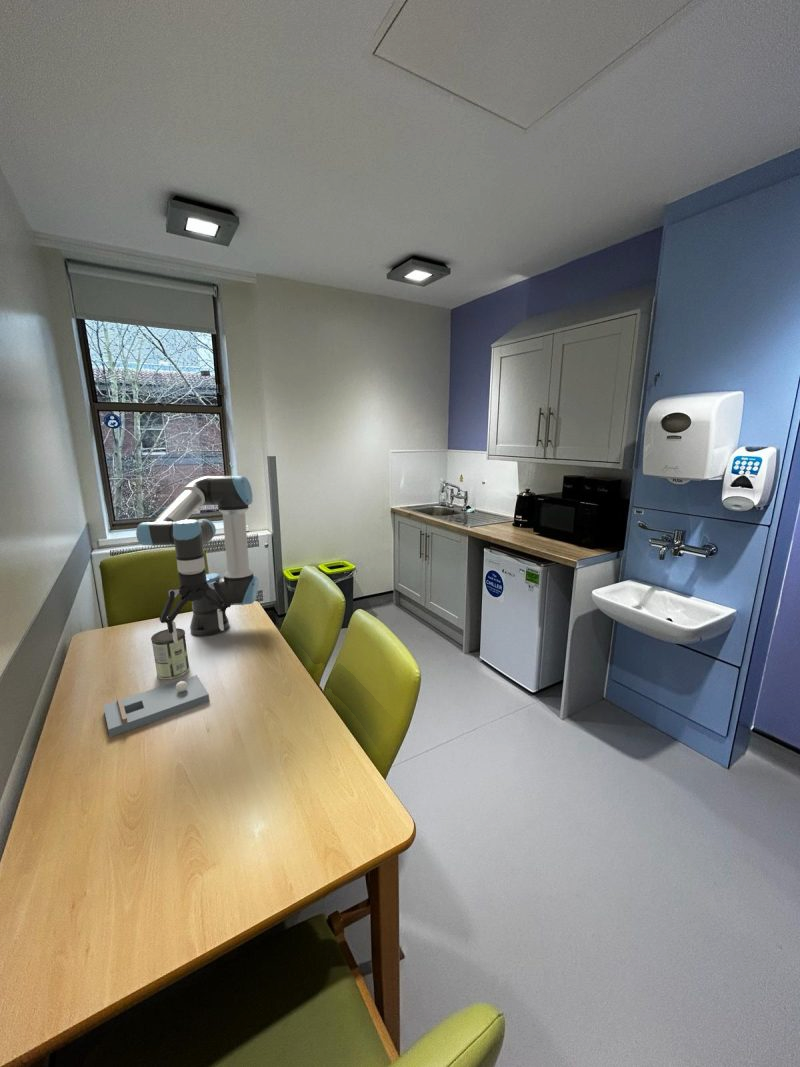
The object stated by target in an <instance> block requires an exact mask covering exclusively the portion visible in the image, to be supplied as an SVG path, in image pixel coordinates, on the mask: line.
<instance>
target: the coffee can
mask: <svg viewBox="0 0 800 1067" xmlns="http://www.w3.org/2000/svg"><path fill="white" fill-rule="evenodd" d="M176 632H177V640H178V643H175V642H174V641H173V635H172V633H169V631H168V628H167V629H163V630H160V631H158V632H156V633H154V634H152V636H151V638H150V640H151V645H152V650H153V651H152V652H153V656H154V663H155V668H156V669H155V670H156V677H157V678H158V679H160V680H172V679H173V680H174V679H176V678H180V677H182V676H184V675H186V674H187V673H188V672H189V670H190V664H189V663H190V662H189V657H188V650H187V649H188V648H187V643H186V642H187V640H186V631H185V630H184V629H183V628H180V627H179V628H178V627H176Z"/></svg>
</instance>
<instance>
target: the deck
mask: <svg viewBox="0 0 800 1067" xmlns="http://www.w3.org/2000/svg"><path fill="white" fill-rule="evenodd" d="M180 681H185V682H186V683H187V688H186V690H185V691H183V692H179V691H177V690H176V685H177V683H178V682H180ZM209 702H210V696H209V692H208V691H207V689H206V688H205V686H204V685H203V683H202V681H201V680H200V677H198V675H197V674H196V675H193V676H188V677H186V678H183V679H180V680H176V681H174V682H170V683H167V684H164V685H161V686H158V687H155V688H152V689H148V690H145V691H142V692H139V693H136V694H134V695H129V696H126V697H122V696H121V694H119V695H116V700H114V701H111V702H109V703H105V704H103V705H102V706H103V711H104V716H105V721H106V726H107V730H108V735H109V738H112V737H116V736H118V735H121V734H124V733H126V732H129V731H132V730H134V729H137V728H140V727H142V726H146V725H148V724H151V723H153V722H156V721H159V720H162V719H164V718H167V717H171V716H172V715H173V716H174V715H175V714H178V713H181V712H184V711H187V710H189V709H193V708H195V707H197V706H200V705H203V704H206V703H209Z"/></svg>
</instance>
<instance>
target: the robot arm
mask: <svg viewBox="0 0 800 1067" xmlns="http://www.w3.org/2000/svg"><path fill="white" fill-rule="evenodd" d="M252 490H253V489H252V486H251V483H250V481H249V480H248V478H247V477H245V475H244V476H243V475H234V474H233V475H206V476H201V477H198V478H196V479H194V480H192V481H190V482H188V483H186V484H185V485H184V486H183V487H182V488H181V489H180V490H179V492H178V496H177V497H176V498H175V499H174V500H173V501H172V502H170V504H169V505H168V506H167V507H166V508H165V509H164V510H163V511H162V512H161V513H160V514H159V515H158V516H157V517H156V518H155V519H154V520H153V521H146V522H140V523H139V524H138V525H137V527H136V531H135V535H136V538H137V542H138V543H139V544H140V545H141V546H150V547H151V546H152V547H156V546H174V549H175V559H176V566H177V572H178V582H179V583H178V584H179V588H178V589H171V588H170V589H168V590H167V592H168V593H167V594H168V595H167V599H166V602H165V603H164V606H163V608H162V611H161V613H160V615H159V621H160V623H161V624H166V626H167V629H168V631H169V633H172V635H173V641H174V642H175V643H178V640H177V632H176V628H177V624H176V621H175V619H176V617H177V616H178V615H179V613H180V612H181V610H182V609H183V608H184V607H185V605H186V604H187V603H188V602H191V608H192V617H191V622H190V626H189V629H190V633H191V634H192V635H193V636H199V637H204V636H205V637H206V636H214V635H217V634H220V633H222V632H224V631H226V630H227V629H228V628H229V627H230V622H229V621H230V620H229V618H228V617H227V616H228V615H226V614H227V613H226V611H227V609H228V608H231V606H244V605H252V604H254V603H255V601H256V599H257V596H258V592H259V577H258V576H256V575H255V576H254V571H253V570H252V569H250V565H249V564H250V563H249V562H250V561H249V548H248V536H247V523H246V522H247V521H246V512H247V511H248V510H249V505H252V503H253V491H252ZM203 506H217V510H218V511H219V513H221V514H222V522H223V523H222V524H223V532H224V533H223V535H224V536H223V537H224V545H225V546H224V547H225V557H226V558H225V559H226V569H227V570H226V571H225V573H224V574H223V577H221V575H220V574H219V573H216V572H213V573H212V572H211V573H206V565H205V554H204V545H206V544H207V543H208V542H211V541H212V539H214V537H215V535H216V532H217V528H216V526H215V524H214V523H213V522H212V521H211V520H209V519H206V518H201V519H189V518H190V517H191V515H192V514H193V513H194V512H195V511H196V510H198V509H201V508H202V507H203ZM179 594H180V598H179V600H178V602H176V604H175V606H174V607H173V609H172V606H173V603H174V601H175V598H177V596H178V595H179ZM171 609H172V610H171Z"/></svg>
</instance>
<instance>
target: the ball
mask: <svg viewBox="0 0 800 1067" xmlns="http://www.w3.org/2000/svg"><path fill="white" fill-rule="evenodd" d="M186 688H187V683H186V682H185V681H180V682H178V683H177V685H176V690H177V691H179V692H183V691H185V690H186Z"/></svg>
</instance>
